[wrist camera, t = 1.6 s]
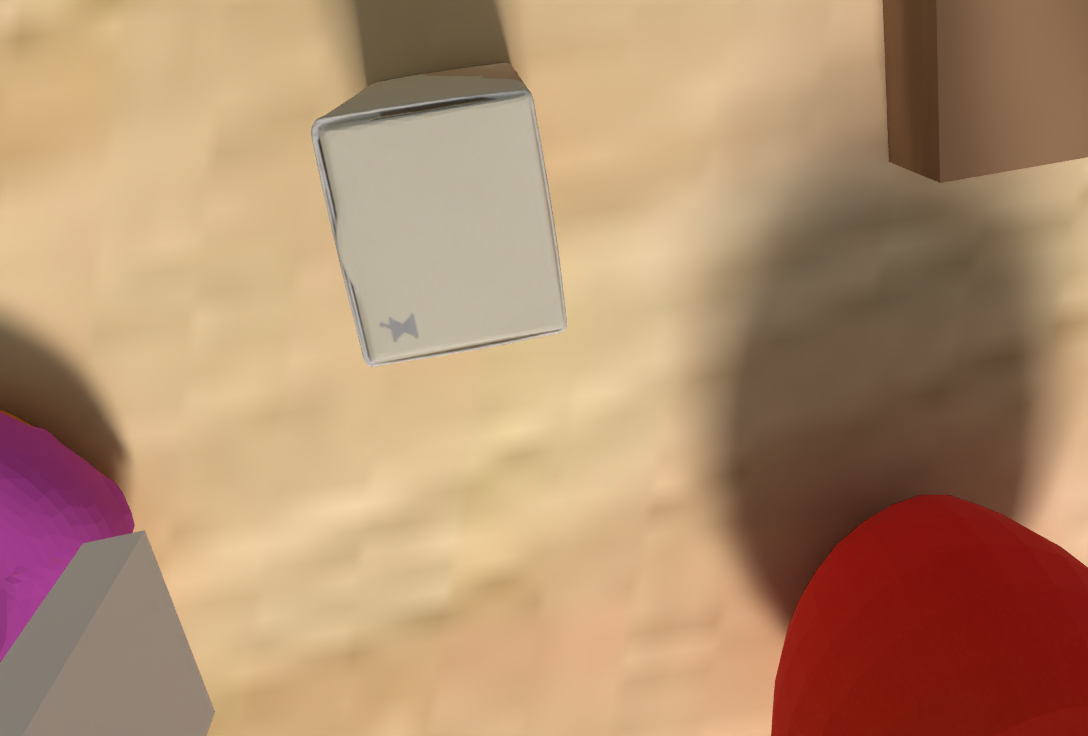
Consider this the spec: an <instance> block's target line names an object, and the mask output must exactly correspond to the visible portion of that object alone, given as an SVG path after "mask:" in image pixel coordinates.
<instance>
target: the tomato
mask: <svg viewBox="0 0 1088 736" xmlns="http://www.w3.org/2000/svg"><path fill="white" fill-rule="evenodd" d="M771 736H1088V567H1086V566H1085V565H1084V564H1082V563H1081V562H1080V561H1079V560H1077V559H1076V558H1075V557H1073V556H1072V555H1071V554H1069V553H1068V552H1067V551H1066V550H1064V549H1063V548H1062V547H1060V546H1058V545H1057V544H1055V543H1053V542H1051V541H1049V540H1047V539H1046V538H1044V537H1042V536H1040V535H1038V534H1037V533H1035V532H1033V531H1031V530H1029V529H1028V528H1026V527H1024V526H1022V525H1020V524H1019V523H1017V522H1015V521H1013V520H1011V519H1010V518H1008V517H1006V516H1004V515H1003V514H1000V513H998V512H995V511H993V510H990V509H987V508H985V507H982V506H980V505H977V504H974V503H971V502H968V501H965V500H962V499H959V498H956V497H953V496H950V495H919V496H916V497H914V498H911V499H908V500H905V501H902V502H899V503H896V504H893V505H891V506H889V507H888V508H886V509H884V510H883V511H881V512H879V513H878V514H876V515H874V516H872V517H871V518H869V519H867V520H866V521H864V522H863V523H861V524H860V525H859V526H858V527H857V528H856V529H854V530H853V531H852V532H851V533H850V534H849V535H847V536H846V537H845V538H844V539H843V540H842V541H840V542H839V543H838V544H837V545H836V546H835V547H834V549H833V550H832V551H831V553H830V554H829V555H828V556H827V558H826V559H825V560H824V562H823V563H822V564H821V566H820V567H819V568H818V569H817V571H816V572H815V574H814V575H813V577H812V579H811V581H810V582H809V584H808V586H807V588H806V589H805V591H804V593H803V595H802V596H801V598H800V600H799V602H798V604H797V607H796V609H795V612H794V614H793V617H792V619H791V622H790V624H789V627H788V630H787V634H786V638H785V642H784V646H783V650H782V654H781V658H780V663H779V667H778V671H777V675H776V680H775V689H774V701H773V716H772V732H771Z"/></svg>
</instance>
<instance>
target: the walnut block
mask: <svg viewBox="0 0 1088 736" xmlns="http://www.w3.org/2000/svg"><path fill="white" fill-rule="evenodd" d="M883 19H884V44H885V70H886V96H887V121H888V147H889V162H891V163H894V164H896V165H899V166H901V167H903V168H906V169H908V170H911V171H913V172H915V173H918V174H920V175H923V176H925V177H927V178H930V179H932V180H935V181H937V182H940V183H941V182H947V181H953V180H959V179H964V178H970V177H976V176H982V175H987V174H993V173H999V172H1005V171H1011V170H1016V169H1022V168H1028V167H1034V166H1039V165H1045V164H1051V163H1057V162H1062V161H1068V160H1074V159H1080V158H1085V157H1088V0H883Z"/></svg>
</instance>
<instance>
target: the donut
mask: <svg viewBox="0 0 1088 736" xmlns="http://www.w3.org/2000/svg"><path fill="white" fill-rule="evenodd" d="M133 529H134V521H133V517H132V513H131V510H130V508H129V506H128V504H127V501H126V499H125V497H124V495H123V492H122V491H121V490H120V488H119V487H118V486H117V485H116V483H115V482H114V481H113V480H111V479H109V478H108V477H106V476H105V475H103V474H101V473H100V472H99V471H98V470H97V469H95V468H94V467H93V466H92V465H91V464H89V463H88V462H87V461H86V460H84V459H83V458H81V457H80V456H79V455H77V454H76V453H74V452H73V451H72V450H70V449H69V448H67V447H66V446H65V445H63V444H62V443H61V442H60V441H59V440H57V439H56V438H55V437H54V436H53V435H52V434H51V433H50V432H48V431H47V430H45V429H44V428H39V427H34V426H32V425H30V424H29V423H27V422H25V421H24V420H22V419H20V418H18V417H17V416H14V415H12V414H10V413H7V412H5V411H2V410H0V662H1V661H2V659H3V658H4V657H5V655H6V654H7V652H8V651H9V649H10V648H11V646H12V645H13V644H14V642H15V641H16V639H17V638H18V636H19V635H20V634H21V632H22V631H23V629H24V628H25V626H26V625H27V623H28V622H29V621H30V619H31V618H32V616H33V615H34V613H35V612H36V610H37V609H38V608H39V606H40V605H41V603H42V602H43V600H44V599H45V597H46V596H47V595H48V593H49V592H50V590H51V589H52V587H53V586H54V584H55V583H56V582H57V580H58V579H59V577H60V576H61V574H62V573H63V571H64V570H65V569H66V567H67V566H68V564H69V563H70V561H71V560H72V559H73V557H74V556H75V554H76V553H77V551H78V550H79V548H80V547H81V546H82V544H83V543H87V542H92V541H97V540H102V539H106V538H111V537H116V536H121V535H126V534H130V533H133Z"/></svg>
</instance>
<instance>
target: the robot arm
mask: <svg viewBox="0 0 1088 736" xmlns="http://www.w3.org/2000/svg"><path fill="white" fill-rule="evenodd" d="M214 712H215V711H214V708H213V706H212V703H211V700H210V698H209V695H208V693H207V690H206V687H205V685H204V682H203V680H202V677H201V675H200V672H199V669H198V667H197V664H196V662H195V659H194V656H193V654H192V651H191V649H190V646H189V644H188V641H187V638H186V636H185V633H184V631H183V628H182V626H181V623H180V620H179V618H178V615H177V613H176V610H175V607H174V605H173V602H172V600H171V597H170V595H169V592H168V589H167V587H166V584H165V582H164V579H163V576H162V574H161V571H160V569H159V566H158V564H157V561H156V558H155V556H154V553H153V551H152V548H151V545H150V543H149V540H148V538H147V535H146V533H145V531H140V532H135V533H130V534H126V535H121V536H116V537H111V538H106V539H102V540H97V541H92V542H87V543H83V544H82V546H81V547H80V548H79V550H78V551H77V553H76V554H75V556H74V557H73V559H72V560H71V561H70V563H69V564H68V566H67V567H66V569H65V570H64V571H63V573H62V574H61V576H60V577H59V579H58V580H57V582H56V583H55V584H54V586H53V587H52V589H51V590H50V592H49V593H48V595H47V596H46V597H45V599H44V600H43V602H42V603H41V605H40V606H39V608H38V609H37V610H36V612H35V613H34V615H33V616H32V618H31V619H30V621H29V622H28V623H27V625H26V626H25V628H24V629H23V631H22V632H21V634H20V635H19V636H18V638H17V639H16V641H15V642H14V644H13V645H12V646H11V648H10V649H9V651H8V652H7V654H6V655H5V657H4V658H3V659H2V661H1V662H0V736H206V735H207V732H208V730H209V727H210V724H211V721H212V718H213V715H214Z"/></svg>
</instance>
